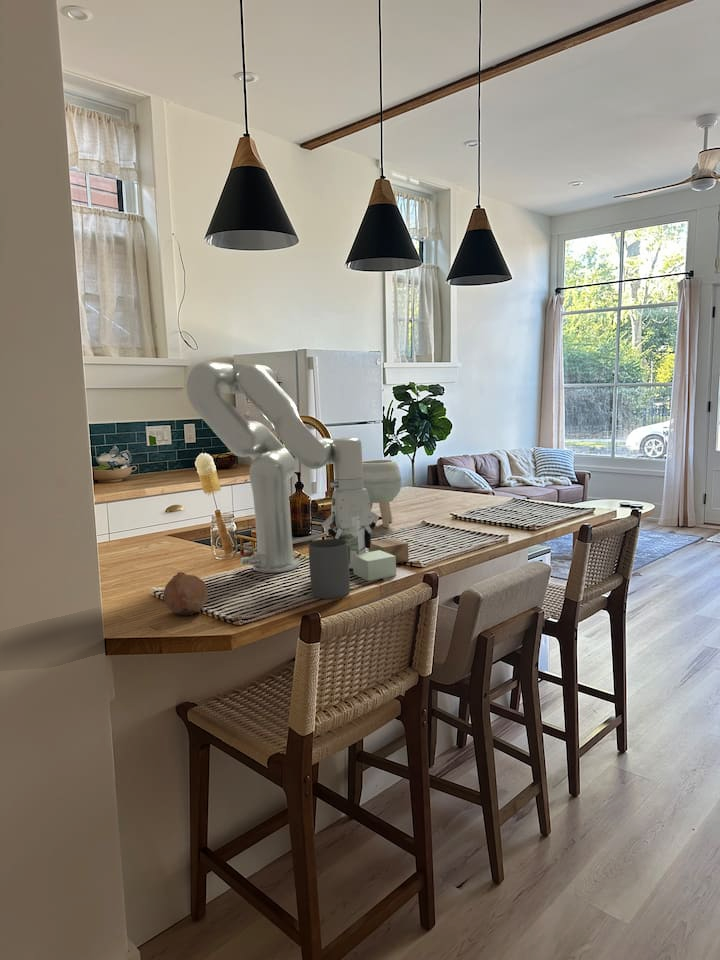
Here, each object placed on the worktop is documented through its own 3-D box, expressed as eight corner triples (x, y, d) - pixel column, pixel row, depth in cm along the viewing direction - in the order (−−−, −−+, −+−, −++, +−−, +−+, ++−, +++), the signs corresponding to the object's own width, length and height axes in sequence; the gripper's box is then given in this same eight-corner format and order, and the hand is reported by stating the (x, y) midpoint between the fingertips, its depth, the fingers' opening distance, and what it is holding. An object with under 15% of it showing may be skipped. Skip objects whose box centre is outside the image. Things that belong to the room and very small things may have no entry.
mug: (337, 601, 147) (334, 549, 146) (303, 596, 152) (300, 546, 150) (366, 584, 159) (364, 536, 157) (334, 580, 164) (332, 533, 162)
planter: (398, 519, 237) (395, 457, 234) (407, 528, 222) (404, 462, 219) (354, 522, 235) (351, 460, 232) (360, 531, 219) (357, 465, 216)
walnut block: (383, 565, 175) (382, 547, 175) (368, 559, 182) (368, 542, 182) (408, 560, 179) (407, 543, 178) (393, 555, 186) (392, 537, 185)
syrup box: (367, 564, 177) (364, 511, 175) (359, 570, 172) (357, 516, 170) (347, 563, 179) (344, 511, 177) (339, 569, 174) (336, 515, 172)
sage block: (368, 580, 162) (367, 561, 161) (353, 573, 169) (352, 554, 168) (396, 575, 165) (395, 556, 165) (380, 568, 173) (379, 550, 172)
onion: (178, 623, 147) (167, 580, 149) (217, 609, 147) (206, 567, 149) (162, 622, 138) (151, 577, 140) (205, 607, 138) (193, 562, 140)
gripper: (325, 490, 165) (329, 557, 168) (384, 482, 173) (387, 547, 176) (313, 487, 172) (317, 552, 174) (371, 479, 180) (374, 542, 182)
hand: (352, 549), depth 175 cm, fingers closed on syrup box, 7 cm apart
